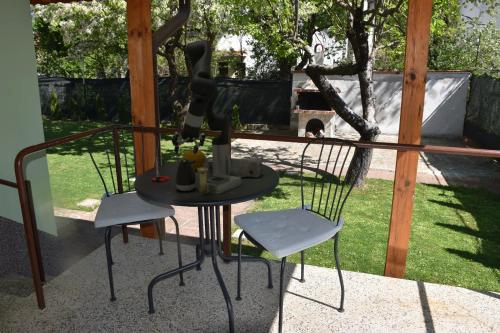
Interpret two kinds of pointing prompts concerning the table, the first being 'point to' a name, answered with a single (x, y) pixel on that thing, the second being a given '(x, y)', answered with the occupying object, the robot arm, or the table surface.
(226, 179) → the hitch plate
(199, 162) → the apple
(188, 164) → the dark grey ribbed bell
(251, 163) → the stone
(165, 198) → the table surface
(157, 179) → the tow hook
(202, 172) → the gold cylinder
